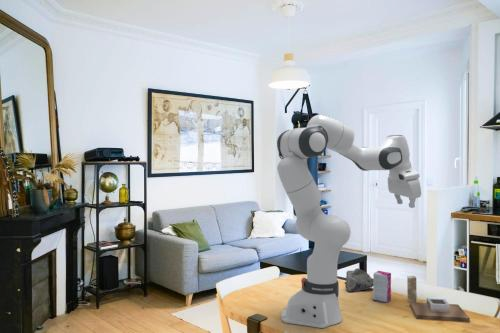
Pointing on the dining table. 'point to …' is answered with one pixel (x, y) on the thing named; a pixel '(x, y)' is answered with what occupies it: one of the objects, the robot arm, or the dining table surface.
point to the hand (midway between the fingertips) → (405, 205)
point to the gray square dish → (438, 305)
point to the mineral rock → (358, 280)
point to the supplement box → (382, 286)
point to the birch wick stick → (411, 289)
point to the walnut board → (424, 313)
